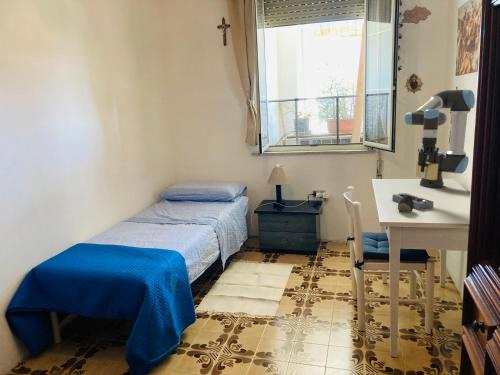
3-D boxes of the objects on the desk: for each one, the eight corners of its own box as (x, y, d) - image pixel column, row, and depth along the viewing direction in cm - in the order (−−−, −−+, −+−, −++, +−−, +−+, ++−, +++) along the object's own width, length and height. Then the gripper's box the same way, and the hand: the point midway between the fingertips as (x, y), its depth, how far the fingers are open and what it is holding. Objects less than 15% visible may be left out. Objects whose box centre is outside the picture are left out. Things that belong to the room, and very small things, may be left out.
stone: (400, 214, 212) (394, 202, 207) (403, 204, 216) (397, 192, 211) (414, 213, 207) (408, 202, 202) (417, 203, 211) (411, 191, 206)
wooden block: (421, 175, 229) (422, 161, 227) (436, 179, 218) (438, 163, 216) (415, 176, 228) (417, 161, 226) (431, 180, 217) (432, 164, 215)
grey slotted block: (405, 198, 235) (406, 191, 235) (433, 207, 215) (433, 200, 214) (392, 200, 232) (392, 193, 231) (418, 209, 212) (419, 202, 211)
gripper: (422, 138, 211) (419, 179, 216) (446, 136, 217) (442, 177, 222) (412, 137, 218) (409, 177, 223) (436, 135, 224) (432, 175, 229)
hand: (426, 177), depth 223 cm, fingers closed on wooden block, 4 cm apart
